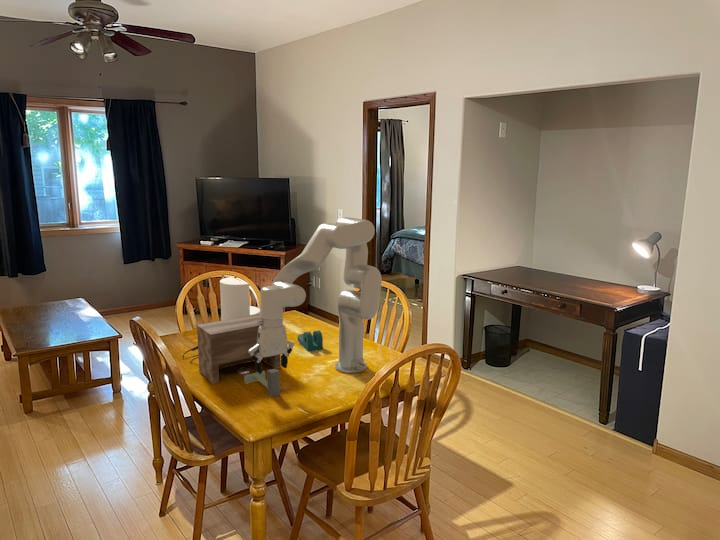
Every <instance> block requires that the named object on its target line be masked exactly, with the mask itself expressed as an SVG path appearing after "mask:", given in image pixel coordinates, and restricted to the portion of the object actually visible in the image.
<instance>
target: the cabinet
mask: <svg viewBox="0 0 720 540" xmlns="http://www.w3.org/2000/svg"><path fill="white" fill-rule="evenodd" d="M260 317H261V314H256V315H251V316H245V317H239V318H234V319H228V320H217V321H212V322H207V323H201V324H196V331H197V332H196V334H197V346H198V349H197V350H198V351H197V352H198V357H199V358H198V371H199V373H200V374H201V373H202V374H201V375H203V376H204V378H206V379H207V380H208V381H209V382H210V383H211V382H212V384H213V385H215V384H218V383H220V372H219V371H220V369H224V368H229V367H232V366H233V367H234V366H236V365H241V364H246V363H251V362H255V361H254V360H253V359H252V358H251V357H250V355H249V353H248V350H249V349H251V348H252V347H254V346H255V345H256V343H257V334H258V329H259V326H260V325H257V321H260ZM256 354H257V351H255V352H254V355H255V356H256ZM261 361H263V362H265V363H266V364H268V365H269V366H271V367H272V368H273V369H276V370H277V369H279V368H281V367H282V366H281V354H280V355H275V356H270V357H263V358H262V360H261ZM214 383H215V384H214Z"/></svg>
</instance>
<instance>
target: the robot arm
mask: <svg viewBox="0 0 720 540" xmlns="http://www.w3.org/2000/svg"><path fill="white" fill-rule="evenodd" d="M375 231H376V229H375V226H374V224H373V222H371V221H370V220H368V219H363V218H357V217H356V218H355V217H345V216H344V217H340V218H338V219H337V220H336V221H335V223H330V222H324V223H322V224H320V225H318V227H317V228H316V229H315V231H314V233H313V234H312V236H311V237H310V239H309V241H308V242H307V244H306V245H305V247H304V249H303V250H302V252H301V253H300V254H299V255H298V256H296V257H295V258H293V259H292V260H291V261H289V262H288V263H287V264H285V265H284V266H283V267H282V268H281V269H280V270H279V271H278V273H277V274H276V276H275V278H274V279H273V281H272V283H271V285H268V286H264V287H261V289H260V294H259V295H260V301H259V302H260V308H259V309H260V314H261V317H260V321H257V325H260V326H259V329H258V334H257V343H256V345H255V346H254V347H252V348H251V349H249V350H248V353H249V355H250V357H251V358H252V359H253V360H254V361H253V362H254V363H255V364H254V370H255V372H256V373H257V372H258V373H259V374H261V373H262V371H263V363H262V361H263V360H262V358H263V357H270V356H275V355H280V360H281V367H282V368H284V369H287V368H288V367H287V366H288V358H289V356H290V354H291V352H292V351H293V348H294V346H295V343H294V342H293V341H291V340H288V335H287V330H286V326H285V324H283V323H284V322H283V321H284V318H283V317H284V314H283V313H284V309H283V308H288V307H289V308H291V307H293V308H294V307H299V306H300V305H302V304H303V303H304V302H305V301H306V298H307V294H306V291H305V289H304V288H303V287H302V286H300V285H298V284H294V281H296V280H297V278H299V277H300V276H302V275H304V274H307V273H309V272H313V271H315V270H318V269H320V268H321V267H322V266H323V264H324V262H325V261H326V259H327V258H328V256H329V254H330V253H331V251H332V249H333V248H334V249H339V250H345V261H344V268H343V281H344V283H345V285H347V286H349V287H351V288H355V289H359V290H360V291H357V290H354V289H345V290H343V291H341V292H340V293H339V294H338V296H337V299H336V308H337V314H338V325H339V326H338V328H339V329H338V361H336V362H335V364H334V368H335V370H336V371H339V372H340V373H346V374H356V373H361V372H363V371H365V370H366V369H368V365H367V363H366V362H365V358H364V322H363V320H367V321H368V320H372V319H373V318H374V317H376V315H377V313H378V311H379V306H380V300H381V293H382V283H383V281H382V280H383V277H382V274H381V272H380V270H379V269H378V268H377V267H375V266H372V265H368V260H369V259H368V256H369V249H368V243H369V242H370V241H371V240H372V239H373V238H374V236H375ZM255 351H257V354H256V356H255V355H254V352H255Z"/></svg>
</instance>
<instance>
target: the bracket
mask: <svg viewBox="0 0 720 540" xmlns="http://www.w3.org/2000/svg"><path fill="white" fill-rule="evenodd" d="M298 341H299V342H298ZM323 341H324V338H323V333H322V332H321V330H314V331H313V332H311V331H304V332H303V333H300V334H298V335H297V342H298V343H299V344H300V345H301V346H302V348H304V349H305V350H306V351H307V352H309V353H310V352H316V350H317V351H322V350H324V347H323V346H324V344H323V343H324V342H323Z"/></svg>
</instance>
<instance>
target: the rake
mask: <svg viewBox="0 0 720 540" xmlns="http://www.w3.org/2000/svg"><path fill="white" fill-rule="evenodd" d="M266 371H267V376H266ZM266 371H265V370H262V373H261V374H259V373H258V372H257V371H256V372H254V373H248V374H244V375H243V377H244V379H243V380H244V384H250V383H254V382H257V381H258V382H260V383H261V384H262V385H264V387H265V388H267V395H268V396H269V397H271V398H274V397H278V396H281V395H280V371H279V370H278V369H277V368H276V369H275V368H272V369H267V370H266ZM266 377H267V379H266Z"/></svg>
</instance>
